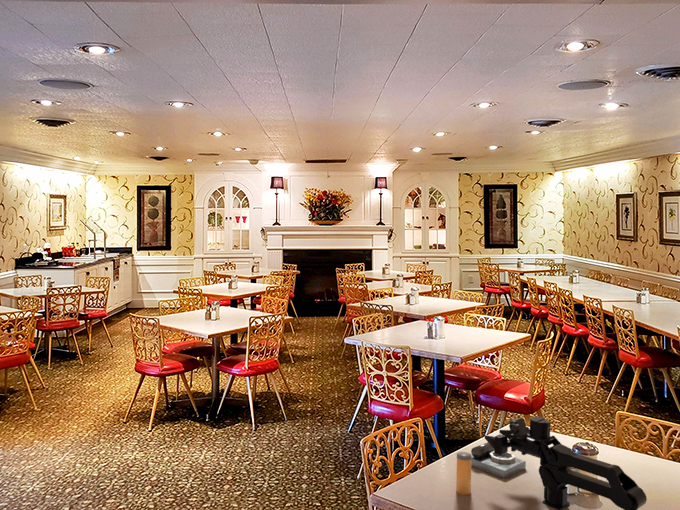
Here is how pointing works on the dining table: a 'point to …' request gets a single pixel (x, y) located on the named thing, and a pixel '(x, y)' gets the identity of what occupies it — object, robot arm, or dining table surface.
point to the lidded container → (463, 473)
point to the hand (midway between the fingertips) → (492, 434)
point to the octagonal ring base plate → (496, 461)
